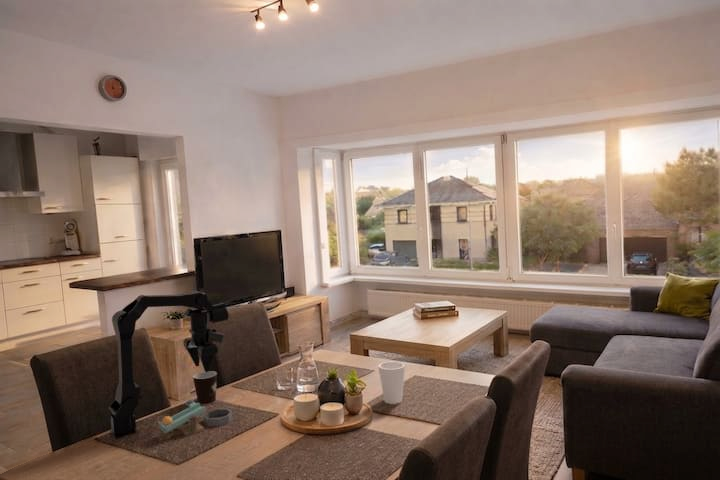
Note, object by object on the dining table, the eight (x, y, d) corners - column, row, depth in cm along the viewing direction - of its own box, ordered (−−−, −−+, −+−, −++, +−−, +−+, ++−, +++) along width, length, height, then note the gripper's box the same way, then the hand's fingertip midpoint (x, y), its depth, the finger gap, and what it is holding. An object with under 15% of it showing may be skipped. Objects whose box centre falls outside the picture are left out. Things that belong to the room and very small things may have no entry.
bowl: (211, 428, 174) (210, 421, 174) (200, 420, 181) (200, 413, 181) (235, 420, 180) (235, 413, 180) (224, 413, 187) (224, 406, 187)
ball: (165, 429, 168) (162, 420, 167) (162, 426, 170) (159, 417, 170) (175, 425, 170) (172, 416, 169) (171, 422, 172) (169, 413, 172)
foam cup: (406, 405, 186) (405, 369, 185) (380, 406, 186) (378, 370, 185) (405, 395, 195) (403, 360, 194) (380, 396, 195) (378, 361, 194)
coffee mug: (204, 406, 194) (202, 380, 193) (190, 402, 199) (188, 376, 198) (229, 396, 203) (228, 371, 202) (215, 392, 208) (213, 367, 207)
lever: (165, 434, 167) (163, 426, 166) (151, 421, 177) (149, 414, 177) (207, 411, 175) (204, 404, 175) (191, 400, 186) (189, 394, 185)
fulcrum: (163, 443, 165) (162, 427, 164) (154, 435, 171) (153, 419, 171) (203, 430, 173) (202, 415, 173) (193, 422, 180) (192, 408, 179)
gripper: (231, 326, 188) (234, 369, 189) (210, 318, 202) (213, 358, 203) (200, 332, 181) (203, 377, 182) (181, 323, 195) (184, 365, 197)
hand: (202, 368), depth 191 cm, fingers open, 9 cm apart
